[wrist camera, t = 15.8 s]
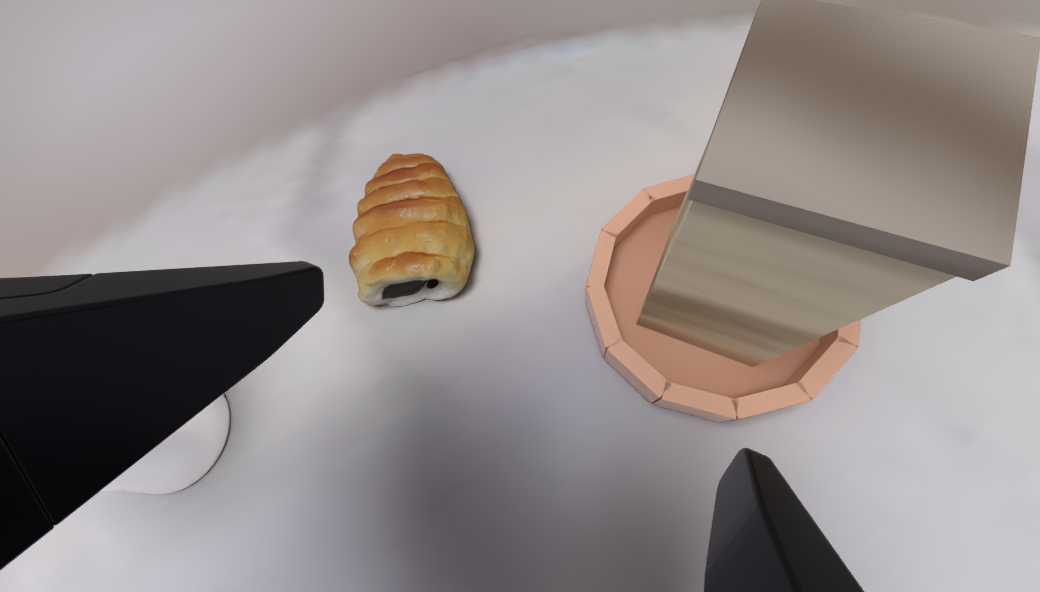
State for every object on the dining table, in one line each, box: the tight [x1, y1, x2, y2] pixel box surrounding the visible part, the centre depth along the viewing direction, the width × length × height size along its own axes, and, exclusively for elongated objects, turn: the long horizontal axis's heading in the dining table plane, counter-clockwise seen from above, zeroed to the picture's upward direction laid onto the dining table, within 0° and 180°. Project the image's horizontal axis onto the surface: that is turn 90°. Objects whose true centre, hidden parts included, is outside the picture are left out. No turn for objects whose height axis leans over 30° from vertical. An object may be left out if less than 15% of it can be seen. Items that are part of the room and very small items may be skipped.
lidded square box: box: [636, 0, 1040, 367], centre depth 15 cm, size 6×6×12 cm
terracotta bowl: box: [586, 174, 860, 422], centre depth 21 cm, size 12×12×2 cm
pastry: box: [349, 154, 475, 307], centre depth 24 cm, size 9×7×4 cm
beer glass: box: [99, 394, 230, 494], centre depth 16 cm, size 7×7×15 cm
